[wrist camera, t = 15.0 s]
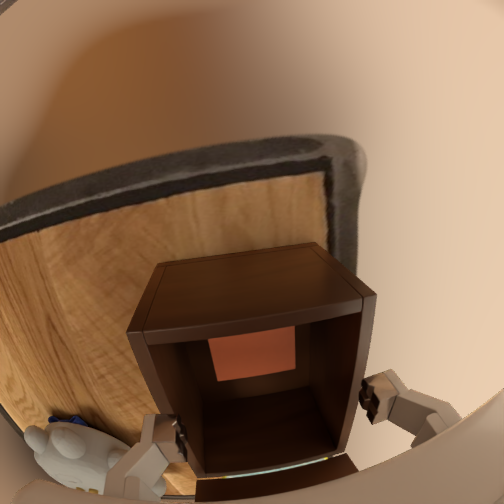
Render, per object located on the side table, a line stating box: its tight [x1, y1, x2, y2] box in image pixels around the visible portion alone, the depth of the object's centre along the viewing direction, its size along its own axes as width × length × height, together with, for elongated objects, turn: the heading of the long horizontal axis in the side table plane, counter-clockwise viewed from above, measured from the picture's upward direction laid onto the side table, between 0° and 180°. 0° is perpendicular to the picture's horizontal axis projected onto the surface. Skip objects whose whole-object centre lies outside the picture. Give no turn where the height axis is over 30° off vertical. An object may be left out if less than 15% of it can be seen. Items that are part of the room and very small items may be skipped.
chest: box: [126, 242, 377, 478], centre depth 18 cm, size 15×12×9 cm
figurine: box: [24, 415, 166, 497], centre depth 22 cm, size 17×8×20 cm
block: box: [208, 326, 295, 381], centre depth 18 cm, size 5×5×5 cm
